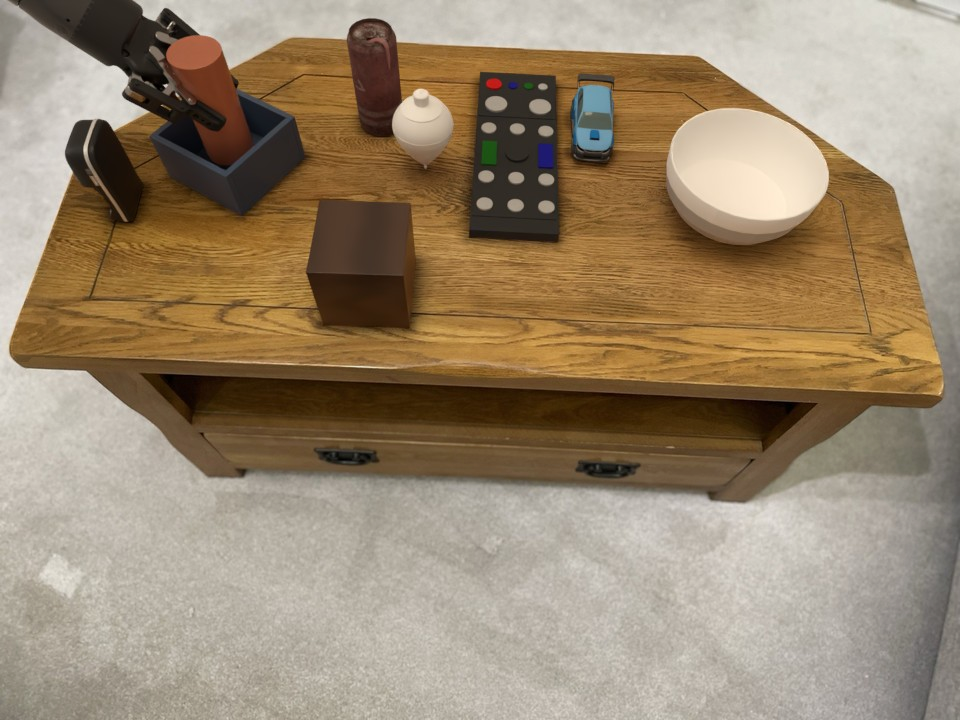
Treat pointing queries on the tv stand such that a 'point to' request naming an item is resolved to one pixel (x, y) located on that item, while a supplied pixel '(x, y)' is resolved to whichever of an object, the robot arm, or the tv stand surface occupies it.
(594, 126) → the toy car
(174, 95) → the robot arm
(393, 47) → the can
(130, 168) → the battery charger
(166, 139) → the tub
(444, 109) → the spinning top
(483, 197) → the remote control
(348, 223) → the stand
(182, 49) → the orange cylinder rod
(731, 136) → the bowl
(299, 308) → the tv stand surface
